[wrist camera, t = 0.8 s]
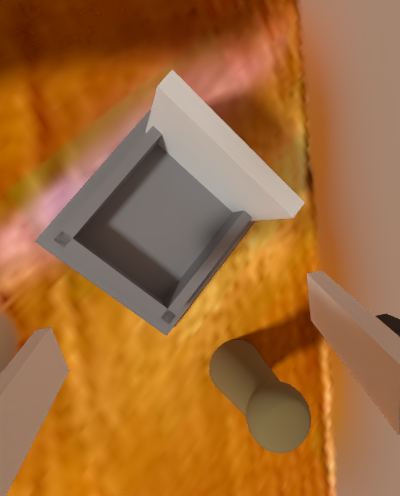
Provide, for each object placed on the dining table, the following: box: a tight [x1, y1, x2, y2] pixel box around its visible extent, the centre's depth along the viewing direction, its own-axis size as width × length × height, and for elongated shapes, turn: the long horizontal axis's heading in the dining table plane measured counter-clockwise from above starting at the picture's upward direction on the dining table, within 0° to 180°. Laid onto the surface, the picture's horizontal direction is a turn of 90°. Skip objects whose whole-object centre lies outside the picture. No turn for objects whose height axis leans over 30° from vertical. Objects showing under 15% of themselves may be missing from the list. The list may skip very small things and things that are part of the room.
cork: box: [209, 339, 311, 453], centre depth 28 cm, size 6×6×11 cm
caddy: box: [35, 70, 305, 336], centre depth 25 cm, size 16×15×10 cm
